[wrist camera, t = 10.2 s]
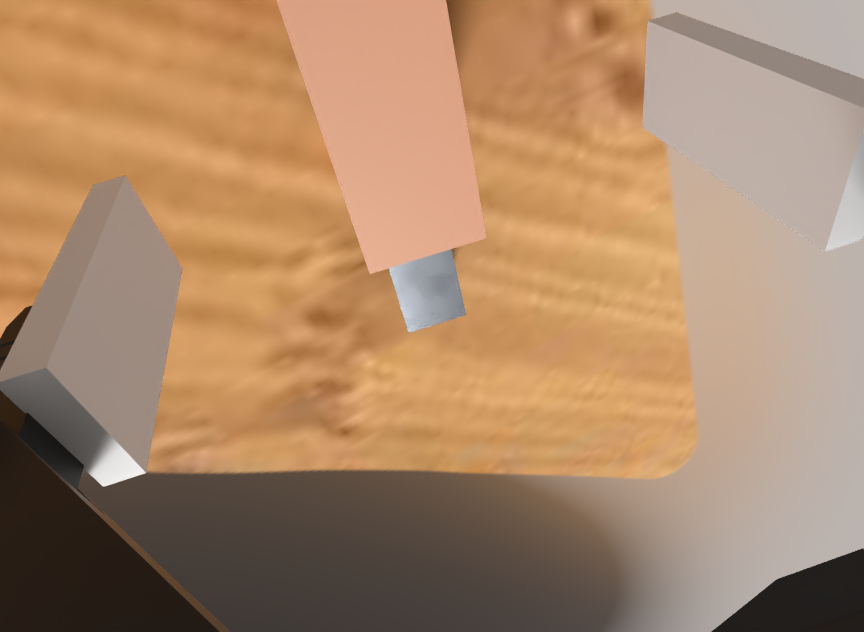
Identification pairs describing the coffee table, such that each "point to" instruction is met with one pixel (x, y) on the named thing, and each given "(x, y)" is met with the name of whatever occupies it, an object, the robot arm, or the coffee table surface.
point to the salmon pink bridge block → (391, 122)
